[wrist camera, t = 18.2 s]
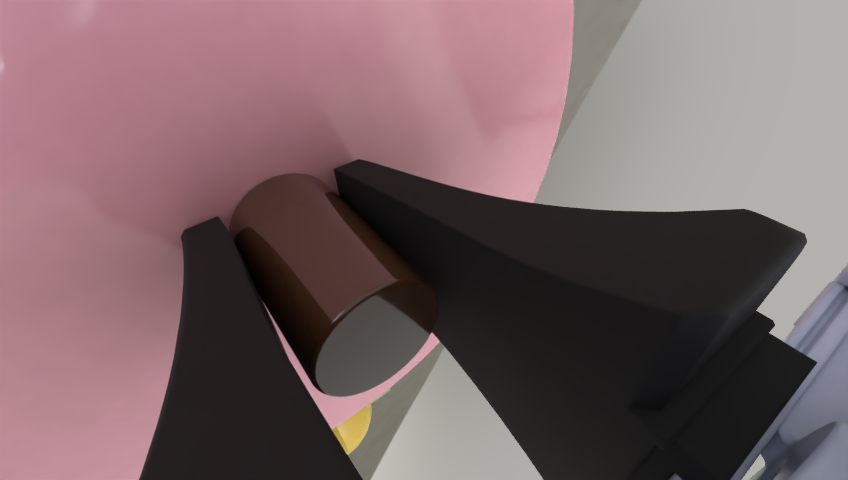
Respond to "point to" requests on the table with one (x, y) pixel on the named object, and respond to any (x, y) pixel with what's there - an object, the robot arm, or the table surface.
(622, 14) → the table surface
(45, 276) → the lid
